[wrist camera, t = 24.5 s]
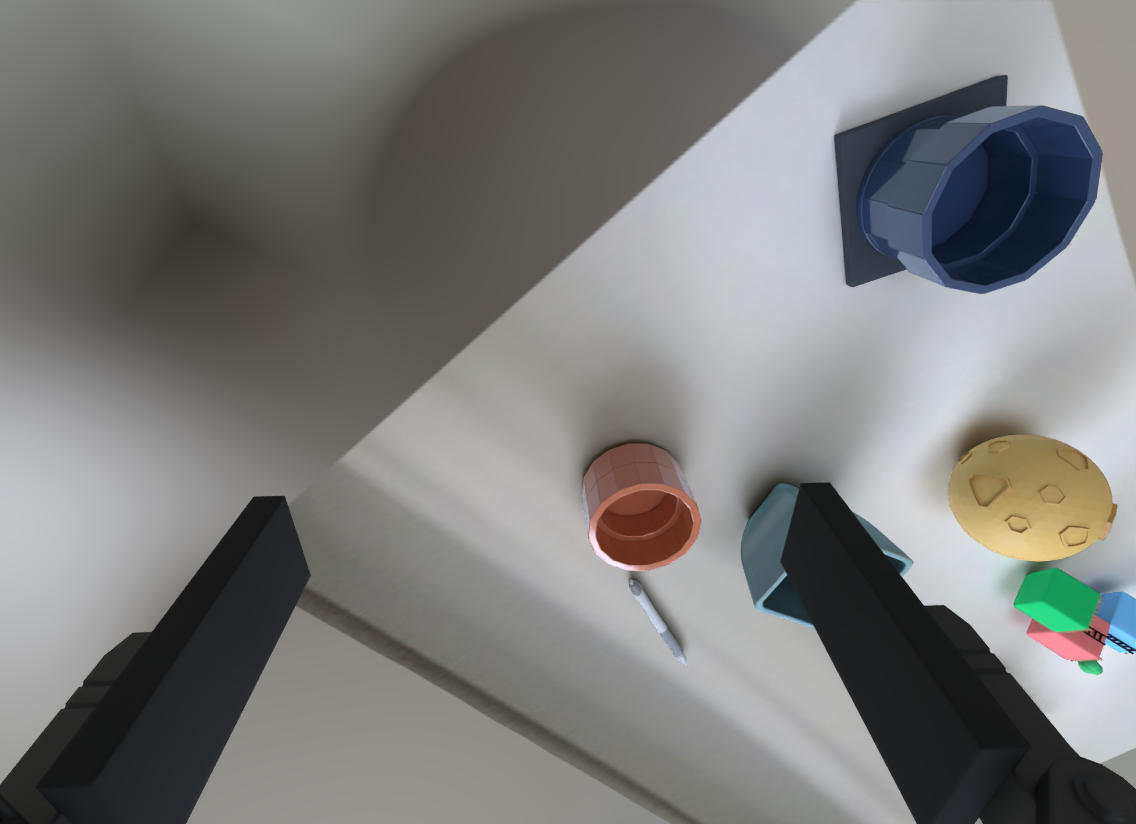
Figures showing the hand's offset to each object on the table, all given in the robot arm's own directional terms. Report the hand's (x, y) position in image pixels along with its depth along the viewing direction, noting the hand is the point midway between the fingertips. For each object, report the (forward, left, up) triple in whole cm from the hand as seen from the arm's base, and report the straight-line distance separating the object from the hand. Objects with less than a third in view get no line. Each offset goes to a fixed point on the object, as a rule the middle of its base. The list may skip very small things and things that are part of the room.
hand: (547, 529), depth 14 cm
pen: (+36, 0, -26) cm, 44 cm away
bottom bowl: (+19, +2, -26) cm, 32 cm away
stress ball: (+28, +31, -26) cm, 49 cm away
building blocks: (+48, +40, -26) cm, 67 cm away
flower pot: (+27, +14, -26) cm, 40 cm away
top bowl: (+3, +25, -25) cm, 36 cm away
